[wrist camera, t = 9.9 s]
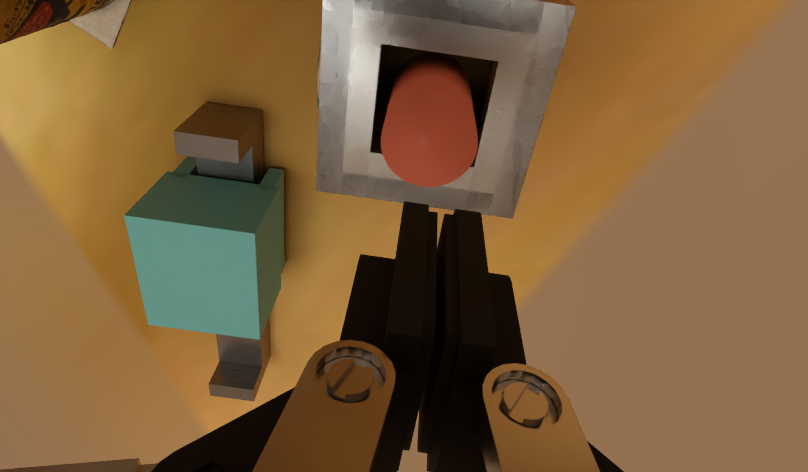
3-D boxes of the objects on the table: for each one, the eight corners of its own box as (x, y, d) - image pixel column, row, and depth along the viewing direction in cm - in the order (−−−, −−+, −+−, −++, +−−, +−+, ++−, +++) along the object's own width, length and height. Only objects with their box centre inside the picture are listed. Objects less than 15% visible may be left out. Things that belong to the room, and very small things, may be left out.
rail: (206, 101, 27) (173, 131, 23) (262, 109, 27) (237, 140, 24) (230, 351, 38) (210, 395, 34) (270, 356, 38) (254, 401, 35)
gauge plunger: (398, 46, 19) (386, 89, 15) (477, 58, 19) (487, 104, 15) (389, 122, 20) (376, 180, 16) (461, 132, 21) (467, 192, 16)
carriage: (183, 155, 28) (124, 215, 23) (289, 170, 28) (254, 233, 23) (195, 253, 32) (148, 324, 27) (289, 266, 32) (259, 339, 27)
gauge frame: (349, -57, 22) (311, -34, 16) (536, -28, 22) (576, 6, 16) (339, 115, 27) (306, 189, 20) (494, 138, 27) (512, 218, 20)
